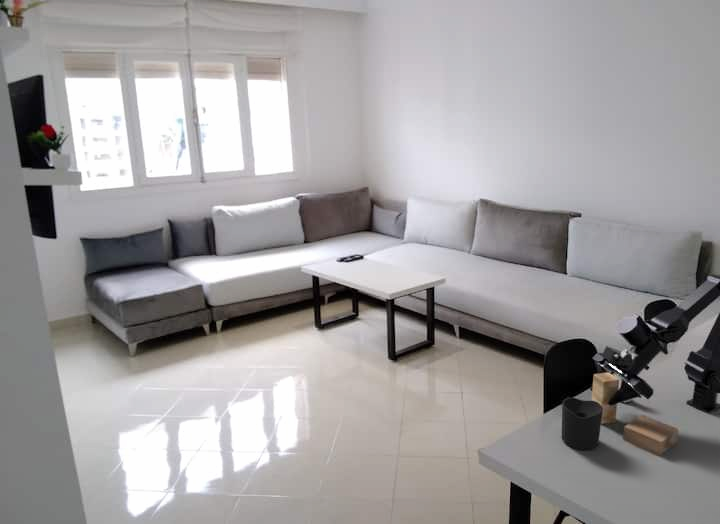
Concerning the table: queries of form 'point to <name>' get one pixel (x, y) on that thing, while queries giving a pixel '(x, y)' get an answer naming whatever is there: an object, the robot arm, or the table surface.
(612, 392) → the oak pillar
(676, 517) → the table surface
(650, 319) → the robot arm
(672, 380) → the table surface
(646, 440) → the light brown block
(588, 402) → the pen holder
